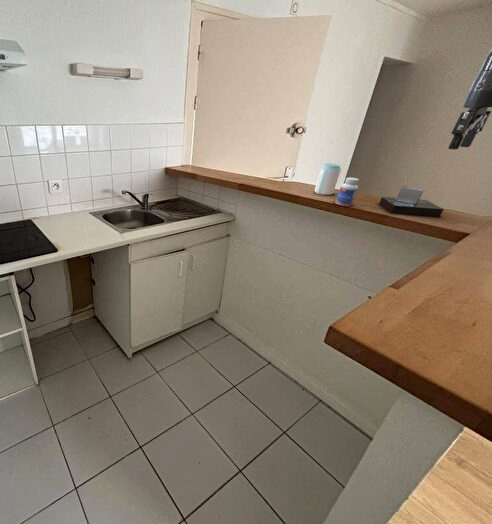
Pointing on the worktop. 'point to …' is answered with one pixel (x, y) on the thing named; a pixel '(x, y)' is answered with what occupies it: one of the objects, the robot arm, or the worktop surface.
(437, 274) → the worktop surface
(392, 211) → the base
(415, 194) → the tap handle
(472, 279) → the worktop surface
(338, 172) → the can
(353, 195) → the pill bottle
